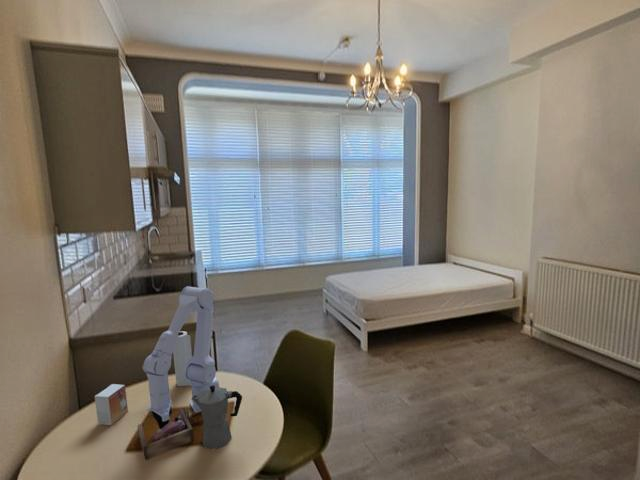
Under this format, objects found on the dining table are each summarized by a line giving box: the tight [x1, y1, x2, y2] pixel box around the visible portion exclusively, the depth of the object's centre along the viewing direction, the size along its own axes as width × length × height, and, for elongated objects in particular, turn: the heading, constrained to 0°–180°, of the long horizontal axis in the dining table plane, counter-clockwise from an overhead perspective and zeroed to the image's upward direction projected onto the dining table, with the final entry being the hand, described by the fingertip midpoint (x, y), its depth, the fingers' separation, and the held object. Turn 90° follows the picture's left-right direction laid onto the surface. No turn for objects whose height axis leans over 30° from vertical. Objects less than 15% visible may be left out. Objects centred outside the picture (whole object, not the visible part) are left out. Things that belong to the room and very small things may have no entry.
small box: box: [94, 383, 129, 426], centre depth 123 cm, size 8×6×10 cm
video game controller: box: [150, 419, 186, 443], centre depth 111 cm, size 10×5×7 cm, turn 134°
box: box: [137, 408, 195, 461], centre depth 112 cm, size 14×13×4 cm
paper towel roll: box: [172, 330, 193, 387], centre depth 143 cm, size 7×6×21 cm
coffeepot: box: [191, 385, 243, 450], centre depth 109 cm, size 15×9×18 cm, turn 94°
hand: (164, 429), depth 114 cm, fingers closed
